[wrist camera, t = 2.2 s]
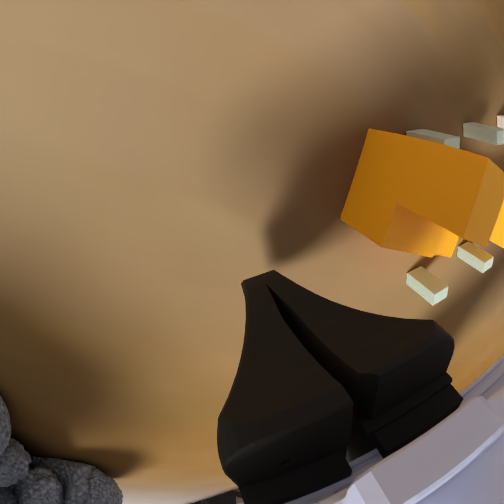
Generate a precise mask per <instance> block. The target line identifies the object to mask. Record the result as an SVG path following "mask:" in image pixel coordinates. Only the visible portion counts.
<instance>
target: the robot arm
mask: <svg viewBox="0 0 504 504" xmlns="http://www.w3.org/2000/svg"><path fill="white" fill-rule="evenodd" d="M241 285H242V289H243V292H244V296H245V302H246V324H245V336H244V344H243V349H242V354H241V359H240V363H239V367H238V370H237V374H236V377H235V379H234V382H233V385H232V388H231V391H230V393H229V396H228V398H227V400H226V402H225V405H224V407H223V409H222V411H221V413H220V415H219V417H218V428H217V446H218V454H219V458H220V462H221V465H222V469H223V471H224V473H225V474H226V475H227V476H228V477H229V478H230V479H231V480H232V481H233V482H234V483H235V484H236V485H237V486H238V487H239V490H240V493H241V496H242V499H243V502H242V503H238V504H315V503H316V504H504V354H503V355H502V356H501V357H500V358H499V359H498V360H497V361H496V362H495V363H494V364H493V365H492V366H491V367H489V368H488V369H487V370H486V371H485V372H484V373H483V374H482V375H480V376H479V377H478V378H477V379H476V380H475V381H473V382H472V383H471V384H470V385H469V386H467V387H466V388H465V389H464V390H463V391H461V392H460V393H458V392H457V391H456V389H455V388H454V387H453V386H452V385H451V384H450V383H451V382H452V378H451V377H450V375H449V374H448V373H447V372H446V371H447V368H448V366H449V363H450V360H451V358H452V355H453V351H454V339H453V338H452V337H451V336H450V335H449V334H448V333H447V332H446V331H445V330H444V329H443V328H442V327H441V326H439V325H438V324H437V323H436V322H434V321H433V320H420V319H403V318H396V317H388V316H382V315H377V314H373V313H368V312H364V311H360V310H356V309H353V308H350V307H347V306H344V305H341V304H338V303H335V302H333V301H330V300H328V299H326V298H323V297H321V296H319V295H317V294H315V293H313V292H311V291H309V290H307V289H305V288H304V287H302V286H300V285H298V284H296V283H295V282H293V281H291V280H290V279H288V278H286V277H285V276H283V275H281V274H280V273H278V272H277V271H275V270H272V271H269V272H266V273H263V274H260V275H258V276H255V277H252V278H249V279H246V280H243V282H242V283H241Z"/></svg>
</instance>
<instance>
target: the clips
mask: <svg viewBox="0 0 504 504" xmlns="http://www.w3.org/2000/svg"><path fill="white" fill-rule="evenodd" d="M463 136H464V137H468V138H472V139H476V140H479V141H483V142H487V143H490V144H494V145H501V144H504V129H501V128H497V127H493V126H489V125H484V124H480V123H475V122H469V123H463ZM457 257H459V258H460V259H462V260H463V261H465V262H466V263H468V264H469V265H471V266H472V267H474V268H475V269H477V270H478V271H480V272H481V273H484V272H485V271H487V270H488V269H489V268H491V267H492V263H493V258H494V256H492V255H490V254H489V253H487V252H486V251H484V250H482V249H481V248H479V247H477V246H476V245H474V244H472V243H471V242H469V241H467V242H465V243H464V244H462V245H460V246H458V252H457Z"/></svg>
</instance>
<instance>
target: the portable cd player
mask: <svg viewBox="0 0 504 504" xmlns="http://www.w3.org/2000/svg"><path fill="white" fill-rule="evenodd" d="M242 502H243V499H242V496H241V494H240V493H237V492H233V491H229V492H226V493H223V494H220V495H217V496H214V497H211V498H208V499H205V500H202V501H198V502H195V503H192V504H238V503H242Z"/></svg>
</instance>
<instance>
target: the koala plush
mask: <svg viewBox="0 0 504 504" xmlns="http://www.w3.org/2000/svg"><path fill="white" fill-rule="evenodd" d="M10 436H11V425H10V416H9V413H8V409H7V408H6V405H5V403H4V401H3V398H2V396H1V395H0V504H122V498H123V495H122V491H121V490H120V489H119V487H118V486H117V483H116V482H115V480H112V479H111V477H109V476H108V475H105V473H103V472H101V471H100V470H99V469H96V467H95V466H92V465H87V464H84V463H79V462H75V461H67V460H63V459H62V460H61V459H56V458H40V457H37V458H36V457H32V456H30V455H29V454H28V452H26V451H25V450H24V447H23V445H22V444H19V442H18V441H16V440H14V439H12V438H10Z"/></svg>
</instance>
